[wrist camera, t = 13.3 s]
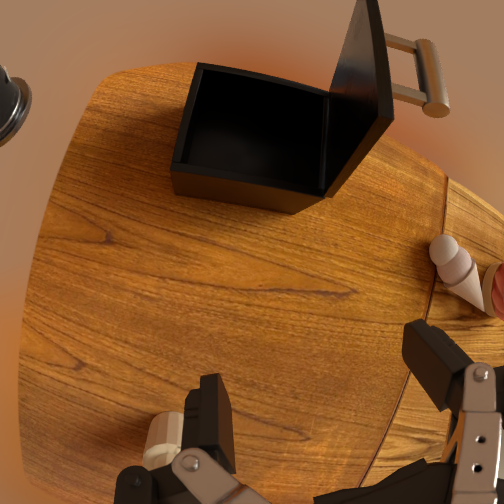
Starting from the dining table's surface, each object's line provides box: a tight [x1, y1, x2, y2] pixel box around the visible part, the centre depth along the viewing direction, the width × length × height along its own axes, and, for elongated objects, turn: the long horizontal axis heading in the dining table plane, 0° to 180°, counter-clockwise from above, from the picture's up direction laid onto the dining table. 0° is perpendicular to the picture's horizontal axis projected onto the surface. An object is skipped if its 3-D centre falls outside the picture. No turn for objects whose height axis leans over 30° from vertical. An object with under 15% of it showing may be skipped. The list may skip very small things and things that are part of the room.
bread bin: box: [170, 62, 329, 215], centre depth 30 cm, size 14×12×9 cm
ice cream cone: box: [429, 234, 485, 312], centre depth 36 cm, size 6×6×15 cm
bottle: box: [143, 411, 184, 471], centre depth 26 cm, size 6×6×10 cm
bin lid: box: [324, 0, 450, 198], centre depth 19 cm, size 14×12×6 cm
